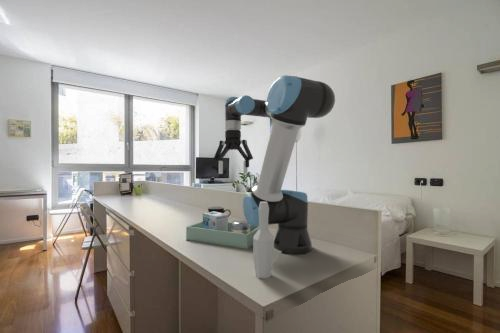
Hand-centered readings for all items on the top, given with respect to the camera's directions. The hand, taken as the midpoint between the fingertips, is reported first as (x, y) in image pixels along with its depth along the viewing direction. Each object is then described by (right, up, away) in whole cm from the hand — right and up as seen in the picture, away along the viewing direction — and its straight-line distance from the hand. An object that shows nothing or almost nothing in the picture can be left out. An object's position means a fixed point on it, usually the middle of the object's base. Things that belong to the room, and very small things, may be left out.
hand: (232, 174), depth 123 cm
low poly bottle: (+12, -29, -47) cm, 56 cm away
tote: (-3, -29, -11) cm, 31 cm away
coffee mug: (-9, -29, +15) cm, 34 cm away
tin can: (+4, -28, -14) cm, 32 cm away
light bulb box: (-7, -28, -9) cm, 30 cm away
